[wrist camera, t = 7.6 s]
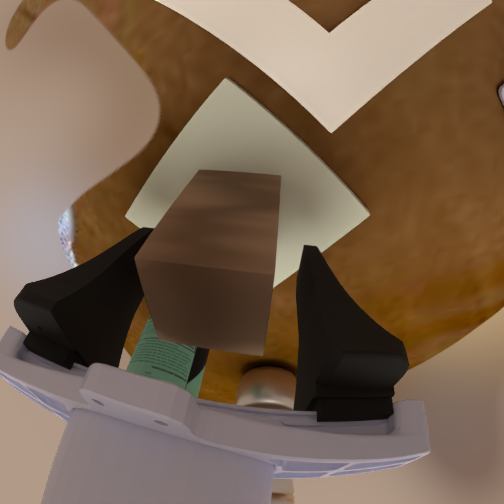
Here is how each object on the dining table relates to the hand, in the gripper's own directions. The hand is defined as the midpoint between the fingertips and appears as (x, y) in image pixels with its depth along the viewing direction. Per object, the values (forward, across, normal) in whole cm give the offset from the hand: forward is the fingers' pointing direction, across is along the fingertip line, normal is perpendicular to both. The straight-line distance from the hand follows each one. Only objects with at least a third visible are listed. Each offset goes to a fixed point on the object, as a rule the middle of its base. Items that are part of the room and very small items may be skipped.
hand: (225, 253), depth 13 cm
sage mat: (+5, 0, 0) cm, 5 cm away
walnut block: (+4, 0, 0) cm, 4 cm away
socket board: (+5, -3, -15) cm, 16 cm away
